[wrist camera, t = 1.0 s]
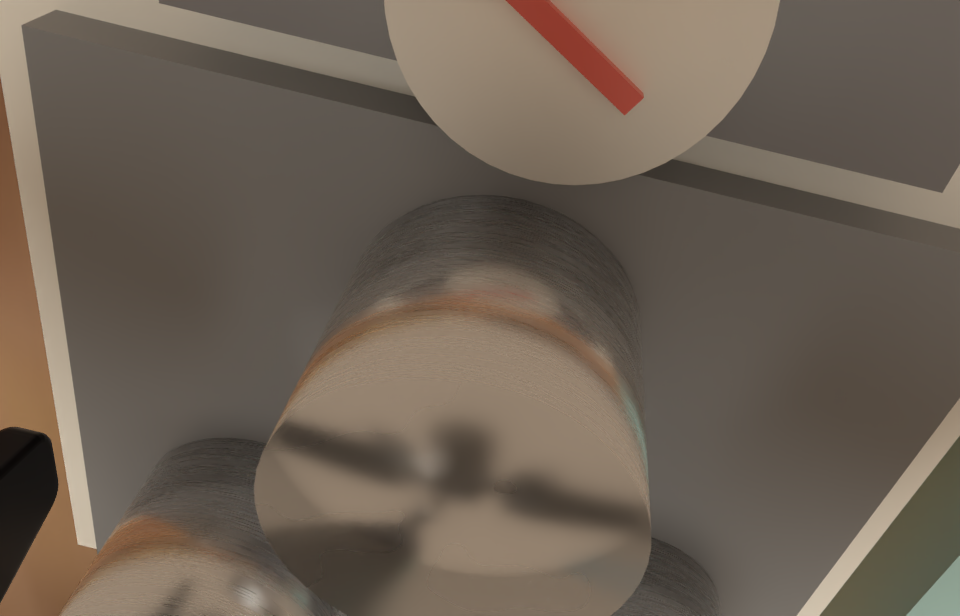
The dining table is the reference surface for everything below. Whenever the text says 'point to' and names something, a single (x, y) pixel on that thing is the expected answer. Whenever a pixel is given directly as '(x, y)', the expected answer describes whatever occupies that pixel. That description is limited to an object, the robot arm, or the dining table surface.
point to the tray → (913, 555)
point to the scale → (529, 176)
